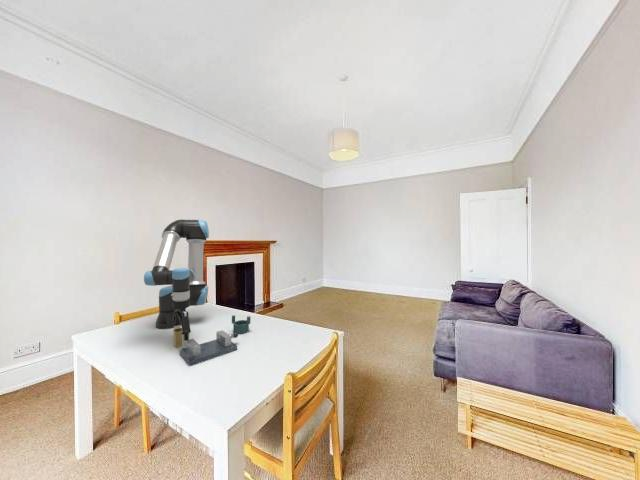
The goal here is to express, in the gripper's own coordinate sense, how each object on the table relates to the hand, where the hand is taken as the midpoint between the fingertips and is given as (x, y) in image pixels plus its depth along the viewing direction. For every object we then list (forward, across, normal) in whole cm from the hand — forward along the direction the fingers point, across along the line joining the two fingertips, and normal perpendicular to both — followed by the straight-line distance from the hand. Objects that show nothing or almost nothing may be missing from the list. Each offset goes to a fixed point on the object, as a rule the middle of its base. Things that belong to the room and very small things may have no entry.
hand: (181, 342), depth 123 cm
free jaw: (-1, +17, +17) cm, 24 cm away
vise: (+1, +17, +7) cm, 18 cm away
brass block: (+1, 0, 0) cm, 1 cm away
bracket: (+2, +4, +30) cm, 30 cm away
